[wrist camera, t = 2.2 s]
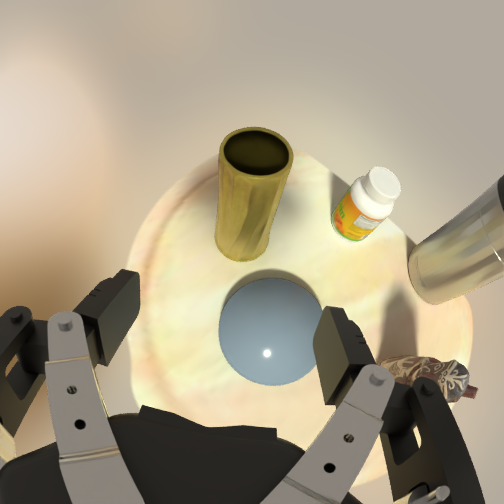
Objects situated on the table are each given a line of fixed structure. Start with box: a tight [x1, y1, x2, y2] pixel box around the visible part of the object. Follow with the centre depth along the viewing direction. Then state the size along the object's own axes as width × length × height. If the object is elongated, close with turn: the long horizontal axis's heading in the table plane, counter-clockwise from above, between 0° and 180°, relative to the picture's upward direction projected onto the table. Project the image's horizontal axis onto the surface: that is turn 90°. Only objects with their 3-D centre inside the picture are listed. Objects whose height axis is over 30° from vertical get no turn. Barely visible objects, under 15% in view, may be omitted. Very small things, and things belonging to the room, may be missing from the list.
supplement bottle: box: [331, 166, 401, 242], centre depth 29 cm, size 5×5×10 cm
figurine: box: [380, 355, 478, 403], centre depth 21 cm, size 7×7×12 cm
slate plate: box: [219, 278, 323, 386], centre depth 27 cm, size 11×11×2 cm
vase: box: [215, 127, 293, 262], centre depth 25 cm, size 6×6×14 cm
